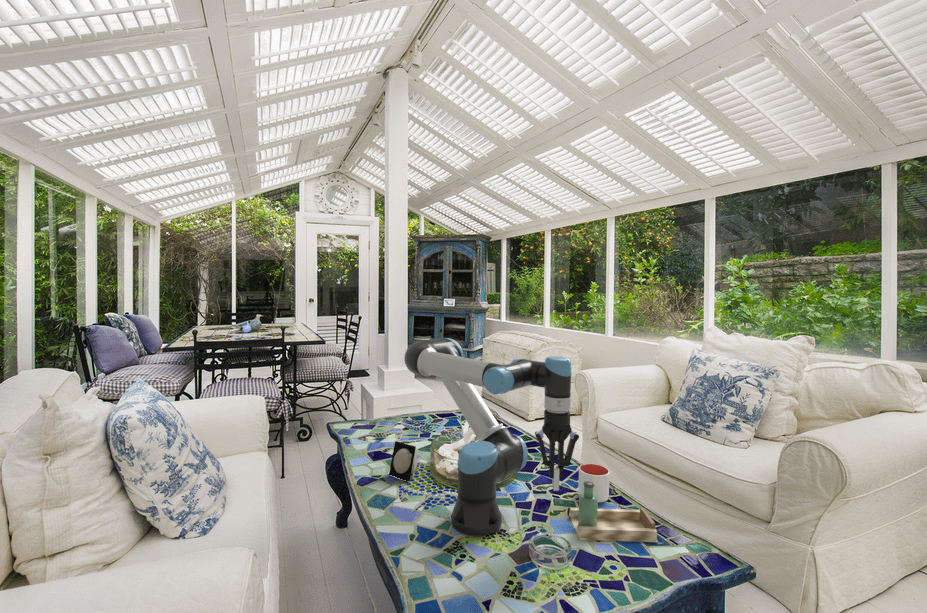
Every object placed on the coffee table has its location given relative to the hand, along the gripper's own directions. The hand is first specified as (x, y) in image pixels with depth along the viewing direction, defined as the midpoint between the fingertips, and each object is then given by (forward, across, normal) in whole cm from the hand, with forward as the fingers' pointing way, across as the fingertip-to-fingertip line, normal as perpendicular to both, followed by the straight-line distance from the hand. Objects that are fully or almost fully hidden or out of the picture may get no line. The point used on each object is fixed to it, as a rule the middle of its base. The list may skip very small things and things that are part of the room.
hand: (555, 488), depth 132 cm
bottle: (+11, +10, 0) cm, 15 cm away
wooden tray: (+13, +17, 0) cm, 21 cm away
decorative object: (+12, -50, +34) cm, 61 cm away
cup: (+13, +17, +20) cm, 29 cm away
